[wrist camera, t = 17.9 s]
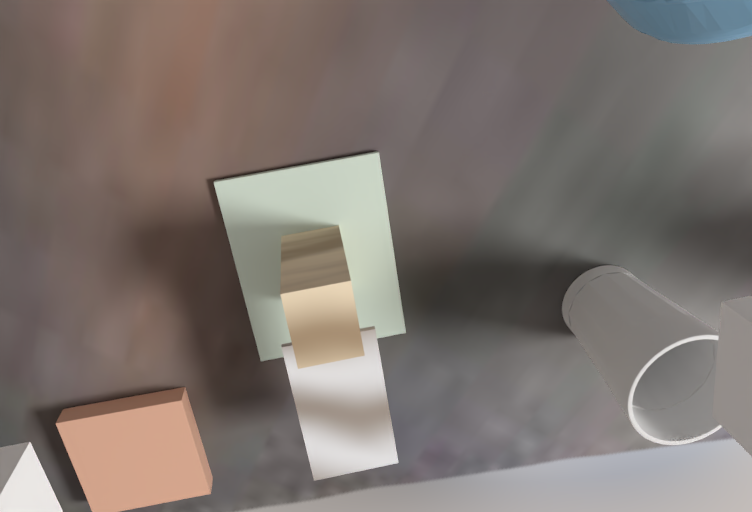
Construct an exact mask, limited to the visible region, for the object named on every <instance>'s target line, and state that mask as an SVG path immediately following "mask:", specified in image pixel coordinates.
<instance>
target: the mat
mask: <svg viewBox="0 0 752 512" xmlns="http://www.w3.org/2000/svg"><path fill="white" fill-rule="evenodd" d="M214 186H215V189H216V193H217V197H218V201H219V205H220V208H221V212H222V216H223V220H224V224H225V227H226V231H227V235H228V239H229V242H230V246H231V250H232V254H233V258H234V261H235V265H236V269H237V273H238V276H239V280H240V284H241V288H242V292H243V295H244V299H245V303H246V307H247V310H248V314H249V318H250V322H251V326H252V329H253V333H254V337H255V341H256V345H257V348H258V352H259V356H260V360H261V361H266V360H271V359H276V358H281V357H284V356H283V352H282V348H281V344H285V343H290V342H291V337H290V333H289V329H288V325H287V321H286V316H285V312H284V308H283V304H282V299H281V295H280V282H281V236H284V235H289V234H295V233H300V232H305V231H311V230H316V229H321V228H327V227H332V226H338V225H339V229H340V233H341V238H342V242H343V247H344V251H345V256H346V260H347V265H348V269H349V274H350V278H351V283H352V289H353V294H354V300H355V305H356V311H357V316H358V321H359V327H360V329H361V328H366V327H371V326H375V330H376V336H377V338H382V337H387V336H392V335H397V334H402V333H406V330H405V323H404V317H403V310H402V304H401V297H400V290H399V284H398V277H397V270H396V264H395V257H394V250H393V244H392V237H391V230H390V224H389V217H388V210H387V204H386V197H385V190H384V184H383V177H382V171H381V164H380V157H379V152H378V151H376V152H370V153H365V154H359V155H354V156H348V157H343V158H337V159H332V160H326V161H321V162H315V163H310V164H304V165H298V166H293V167H287V168H282V169H276V170H271V171H265V172H260V173H254V174H249V175H243V176H238V177H232V178H227V179H221V180H215V181H214Z"/></svg>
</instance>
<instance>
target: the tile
mask: <svg viewBox="0 0 752 512" xmlns="http://www.w3.org/2000/svg"><path fill="white" fill-rule="evenodd" d="M56 426H57V428H58V431H59V433H60V435H61V438H62V440H63V442H64V445H65V447H66V450H67V452H68V454H69V457H70V459H71V462H72V464H73V466H74V469H75V471H76V474H77V476H78V478H79V481H80V483H81V486H82V488H83V490H84V493H85V495H86V498H87V500H88V502H89V505H90V507H91V510H92V512H119V511H124V510H129V509H134V508H140V507H145V506H150V505H155V504H160V503H165V502H171V501H176V500H181V499H186V498H191V497H196V496H202V495H207V494H211V488H212V481H213V477H212V474H211V471H210V467H209V464H208V461H207V458H206V454H205V451H204V448H203V444H202V441H201V438H200V435H199V431H198V428H197V425H196V421H195V418H194V415H193V412H192V408H191V405H190V402H189V398H188V395H187V392H186V388H185V387H182V388H176V389H171V390H165V391H160V392H154V393H149V394H143V395H138V396H132V397H127V398H121V399H116V400H111V401H105V402H100V403H94V404H89V405H83V406H78V407H72V408H67V409H63V410H62V412H61V414H60V416H59V418H58V420H57V422H56Z"/></svg>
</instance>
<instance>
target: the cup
mask: <svg viewBox="0 0 752 512" xmlns="http://www.w3.org/2000/svg"><path fill="white" fill-rule="evenodd" d="M562 315H563V319H564V321H565V323H566V325H567V326H568V327H569V329H570V330H571V331H572V332H573V333H574V335H575V336H576V337H577V339H578V340H579V342H580V343H581V345H582V346H583V348H584V350H585V351H586V353H587V354H588V356H589V357H590V359H591V360H592V362H593V363H594V365H595V366H596V368H597V370H598V371H599V373H600V374H601V376H602V377H603V379H604V380H605V382H606V383H607V385H608V386H609V388H610V390H611V392H612V394H613V395H614V397H615V398H616V400H617V402H618V403H619V405H620V406H621V408H622V410H623V411H624V413H625V414H626V416H627V418H628V419H629V421H630V423H631V424H632V426H633V427H634V429H635V430H636V431H637V432H638V433H639V434H640V435H641V436H643V437H644V438H646V439H648V440H650V441H652V442H655V443H659V444H664V445H680V444H686V443H690V442H694V441H697V440H699V439H702V438H704V437H706V436H708V435H710V434H712V433H714V432H715V431H717V430H718V429H720V428H721V427H722V426H721V425H720V424H719V423H718V422H717V421H716V420H715V419H714V418H713V417H712V410H713V398H714V386H715V374H716V362H717V350H718V337H719V331H717V330H716V329H714V328H713V327H711V326H709V325H708V324H706V323H705V322H703V321H701V320H700V319H698V318H697V317H695V316H694V315H692V314H691V313H689V312H688V311H686V310H685V309H683V308H681V307H680V306H678V305H677V304H675V303H674V302H672V301H671V300H669V299H668V298H666V297H665V296H663V295H662V294H660V293H659V292H657V291H656V290H654V289H653V288H651V287H650V286H648V285H646V284H645V283H643V282H642V281H640V280H639V279H637V278H636V277H635V276H634V275H633V274H631V273H630V272H629V271H628V270H626V269H624V268H622V267H619V266H613V265H605V266H599V267H595V268H593V269H590V270H588V271H586V272H585V273H583V274H582V275H580V276H579V277H578V278H577V279H576V280H575V281H574V282H573V283H572V284H571V285H570V287H569V288H568V290H567V292H566V294H565V296H564V299H563V303H562Z"/></svg>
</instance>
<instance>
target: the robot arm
mask: <svg viewBox="0 0 752 512" xmlns="http://www.w3.org/2000/svg"><path fill="white" fill-rule="evenodd" d="M607 1H608V2H609V4H610V5H611V6H612V7H613V8H614V9H615V10H616V11H617V12H618V13H619V14H620V15H621V16H622V17H623V19H624V20H625V21H626V22H628V23H629V24H630V25H631V26H632V27H633V28H635V29H636V30H638V31H640V32H641V33H645V34H648V35H650V36H652V37H655V38H657V39H659V40H663V41H667V42H670V43H679V44H709V43H717V42H724V41H730V40H735V39H740V38H744V37H748V36H752V0H607ZM712 417H713V418H714V419H715V420H716V421H717V422H718V423H719V424H720V425H721V426H722V427H723V428H724V429H725V430H726V431H727V432H728V433H729V434H730V435H731V436H732V437H733V438H734V439H735V440H736V441H737V442H738V443H739V444H740V445H741V446H742V447H743V448H744V449H745V450H746V451H747V452H748V453H749V454H750V455H751V456H752V295H751V296H746V297H741V298H736V299H731V300H726V301H721V313H720V325H719V337H718V350H717V362H716V374H715V386H714V398H713V410H712ZM0 512H63V511H62V509H61V506H60V504H59V502H58V500H57V498H56V496H55V494H54V492H53V490H52V487H51V485H50V483H49V481H48V479H47V477H46V475H45V473H44V471H43V468H42V466H41V464H40V462H39V460H38V458H37V456H36V454H35V451H34V449H33V447H32V445H31V443H30V442H26V443H21V444H16V445H11V446H6V447H1V448H0Z"/></svg>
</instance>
